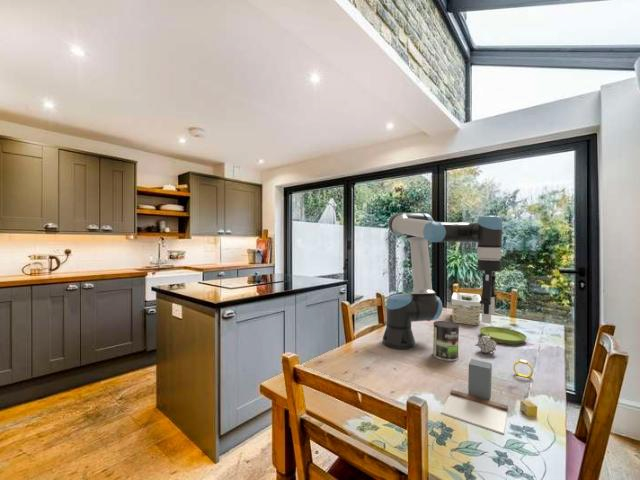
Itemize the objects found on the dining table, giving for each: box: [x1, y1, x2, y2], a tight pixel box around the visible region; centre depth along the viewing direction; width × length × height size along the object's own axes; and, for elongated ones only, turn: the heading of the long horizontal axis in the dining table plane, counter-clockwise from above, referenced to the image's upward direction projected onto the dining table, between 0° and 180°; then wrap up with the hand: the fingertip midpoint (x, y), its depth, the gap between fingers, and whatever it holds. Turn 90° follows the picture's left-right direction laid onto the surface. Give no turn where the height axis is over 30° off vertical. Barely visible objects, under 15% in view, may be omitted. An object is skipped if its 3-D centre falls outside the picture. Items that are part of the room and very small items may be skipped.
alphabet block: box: [519, 399, 538, 417], centre depth 90 cm, size 3×3×3 cm
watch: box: [512, 359, 534, 378], centre depth 113 cm, size 6×3×6 cm, turn 59°
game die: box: [474, 334, 499, 355], centre depth 135 cm, size 9×8×10 cm
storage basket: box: [451, 292, 482, 326], centre depth 187 cm, size 24×16×15 cm
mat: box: [440, 394, 508, 435], centre depth 89 cm, size 16×12×1 cm
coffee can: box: [432, 320, 460, 362], centre depth 131 cm, size 10×10×14 cm
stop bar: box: [449, 389, 509, 413], centre depth 95 cm, size 16×2×1 cm, turn 54°
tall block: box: [467, 358, 493, 401], centre depth 98 cm, size 6×5×11 cm
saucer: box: [478, 326, 528, 345], centre depth 154 cm, size 21×21×3 cm
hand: (488, 318), depth 108 cm, fingers open, 13 cm apart
